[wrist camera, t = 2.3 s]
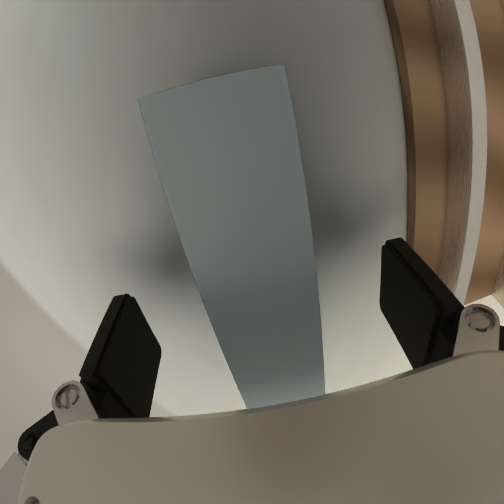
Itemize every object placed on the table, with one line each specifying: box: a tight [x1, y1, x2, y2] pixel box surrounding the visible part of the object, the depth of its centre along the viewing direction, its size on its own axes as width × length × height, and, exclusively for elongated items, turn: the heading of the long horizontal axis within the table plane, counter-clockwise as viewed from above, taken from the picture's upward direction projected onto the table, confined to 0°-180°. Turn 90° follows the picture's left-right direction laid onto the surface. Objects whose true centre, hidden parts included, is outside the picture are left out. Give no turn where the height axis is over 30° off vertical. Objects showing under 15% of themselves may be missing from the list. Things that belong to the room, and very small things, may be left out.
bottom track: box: [384, 0, 504, 308], centre depth 12 cm, size 20×11×3 cm, turn 12°
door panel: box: [138, 64, 325, 409], centre depth 12 cm, size 14×3×7 cm, turn 11°
